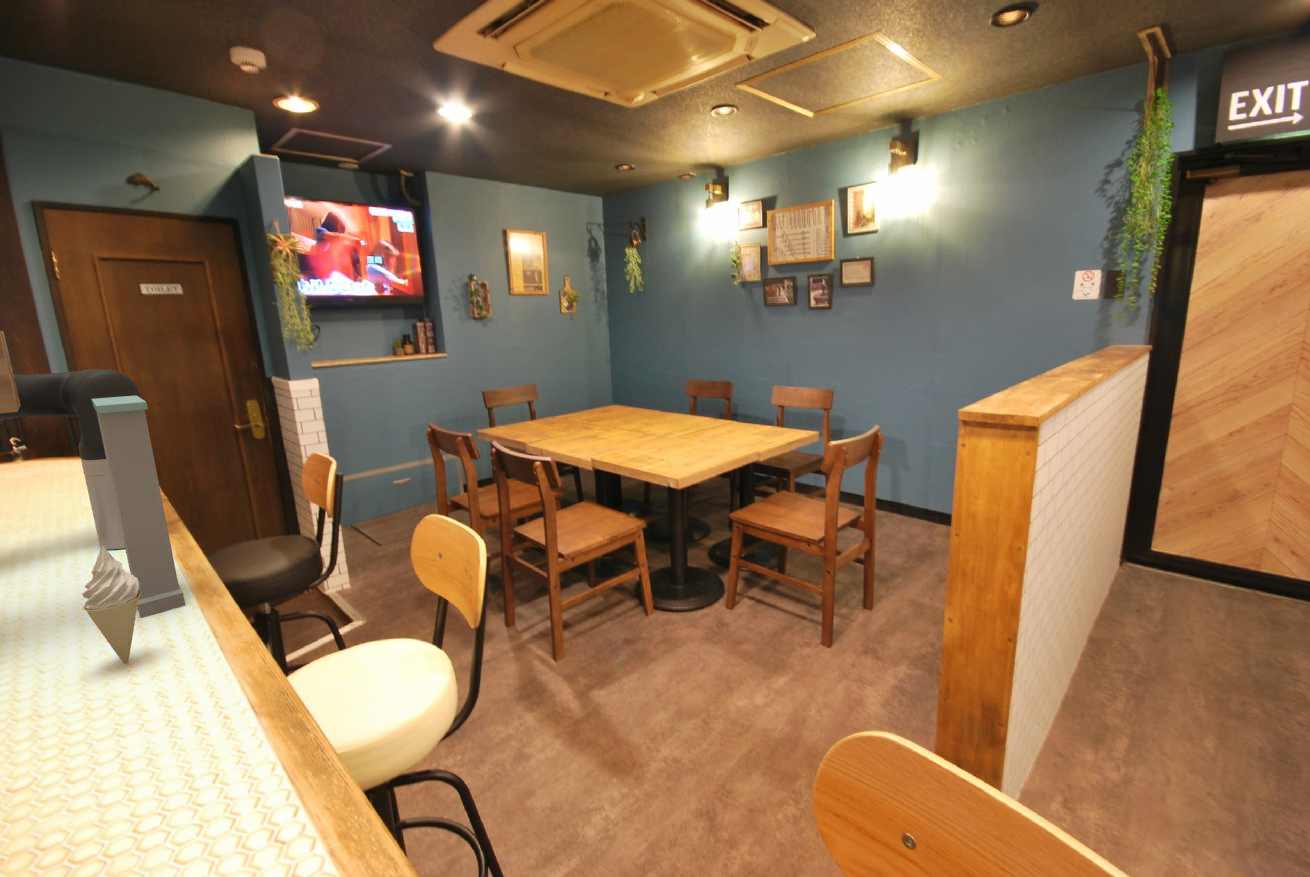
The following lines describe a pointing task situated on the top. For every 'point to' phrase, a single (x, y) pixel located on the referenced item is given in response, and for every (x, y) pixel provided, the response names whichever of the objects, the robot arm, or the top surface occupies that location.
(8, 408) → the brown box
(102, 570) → the ice cream cone
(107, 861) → the top surface
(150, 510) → the stand
